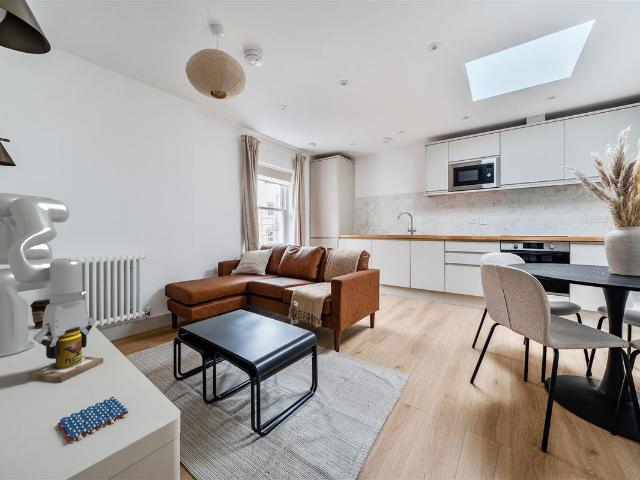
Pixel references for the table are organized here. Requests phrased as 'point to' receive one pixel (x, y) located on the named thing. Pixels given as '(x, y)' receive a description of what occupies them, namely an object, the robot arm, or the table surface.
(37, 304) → the coffee cup
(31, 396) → the table surface
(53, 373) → the picture frame
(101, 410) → the woven mat
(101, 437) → the table surface
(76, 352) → the condiment
